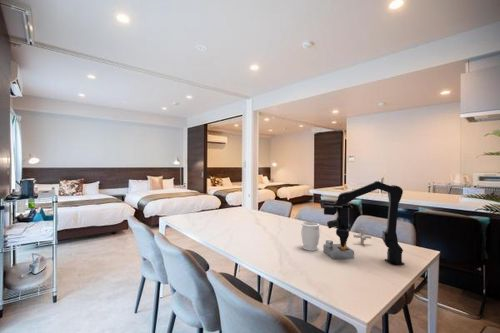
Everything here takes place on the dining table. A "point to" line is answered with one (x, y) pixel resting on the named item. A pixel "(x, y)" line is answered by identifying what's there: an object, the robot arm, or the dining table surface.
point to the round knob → (343, 247)
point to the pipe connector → (362, 236)
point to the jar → (310, 235)
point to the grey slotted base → (337, 251)
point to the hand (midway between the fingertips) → (343, 244)
